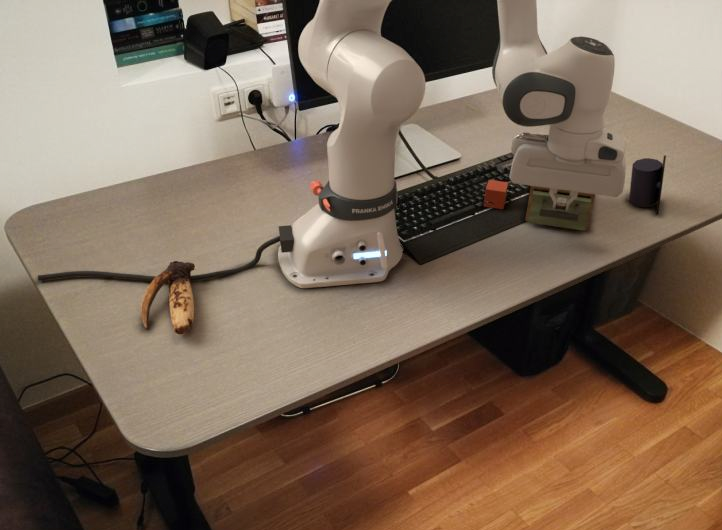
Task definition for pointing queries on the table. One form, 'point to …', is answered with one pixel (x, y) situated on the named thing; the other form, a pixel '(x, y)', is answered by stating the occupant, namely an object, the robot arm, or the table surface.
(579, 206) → the drawer
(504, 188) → the block
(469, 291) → the table surface
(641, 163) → the speaker
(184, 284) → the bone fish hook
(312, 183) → the robot arm
